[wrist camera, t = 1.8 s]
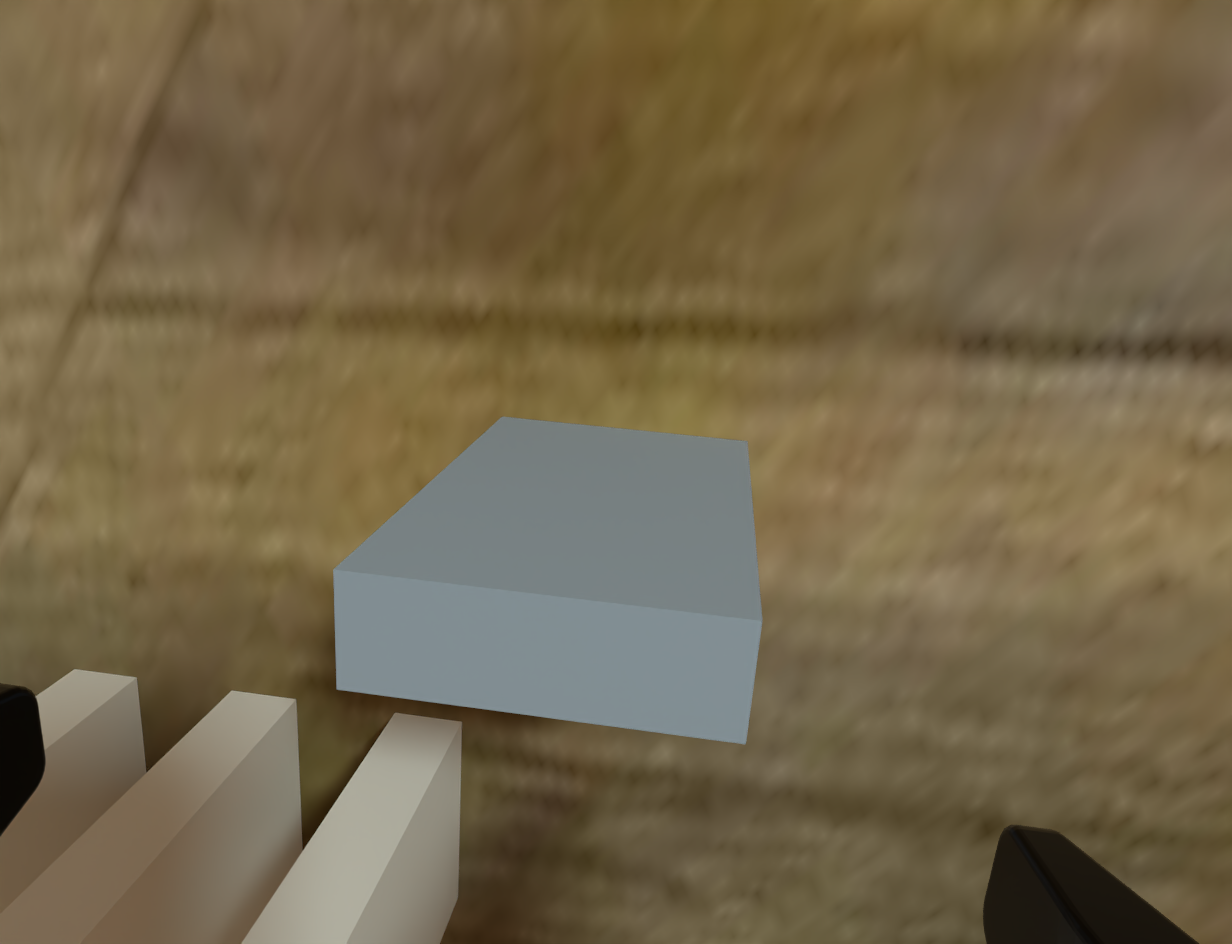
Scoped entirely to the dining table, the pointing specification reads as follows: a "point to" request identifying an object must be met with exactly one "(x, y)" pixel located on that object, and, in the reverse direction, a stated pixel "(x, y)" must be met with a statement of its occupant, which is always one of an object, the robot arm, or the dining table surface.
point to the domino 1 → (74, 772)
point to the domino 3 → (380, 848)
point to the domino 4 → (566, 583)
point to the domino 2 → (181, 841)
